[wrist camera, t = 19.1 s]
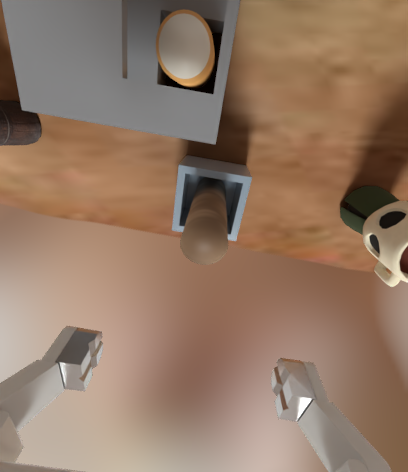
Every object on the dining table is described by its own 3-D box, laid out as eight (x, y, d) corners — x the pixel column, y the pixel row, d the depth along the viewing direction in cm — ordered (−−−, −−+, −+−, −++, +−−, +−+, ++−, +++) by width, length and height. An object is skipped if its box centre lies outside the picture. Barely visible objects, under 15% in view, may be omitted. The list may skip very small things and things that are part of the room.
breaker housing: (99, 110, 29) (22, 110, 18) (92, -37, 23) (-33, -182, 12) (217, 131, 30) (215, 144, 18) (241, -9, 23) (261, -123, 12)
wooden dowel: (194, 201, 34) (177, 260, 20) (198, 173, 32) (183, 219, 19) (222, 206, 34) (222, 268, 21) (228, 178, 32) (232, 227, 19)
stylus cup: (180, 210, 35) (171, 230, 29) (186, 154, 31) (178, 164, 25) (233, 219, 35) (235, 241, 29) (246, 165, 31) (252, 177, 26)
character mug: (356, 161, 30) (439, 192, 19) (409, 172, 31) (522, 209, 19) (321, 235, 35) (369, 293, 24) (366, 243, 36) (435, 306, 24)
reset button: (168, 85, 27) (153, 77, 21) (172, 29, 25) (157, 3, 19) (211, 92, 27) (208, 87, 21) (219, 38, 25) (218, 14, 19)
